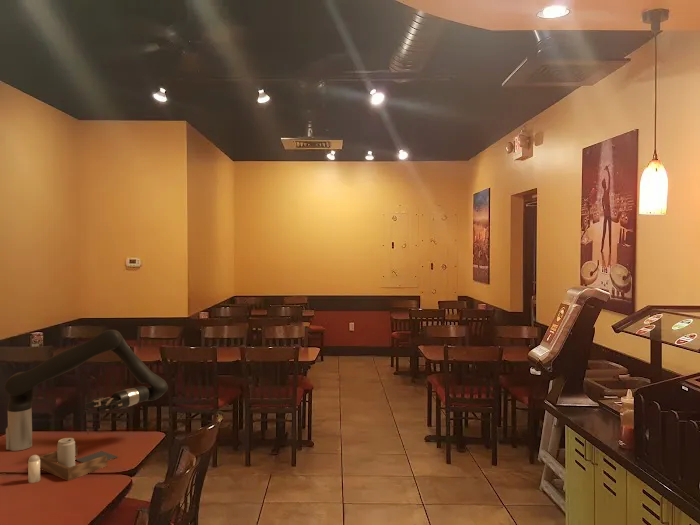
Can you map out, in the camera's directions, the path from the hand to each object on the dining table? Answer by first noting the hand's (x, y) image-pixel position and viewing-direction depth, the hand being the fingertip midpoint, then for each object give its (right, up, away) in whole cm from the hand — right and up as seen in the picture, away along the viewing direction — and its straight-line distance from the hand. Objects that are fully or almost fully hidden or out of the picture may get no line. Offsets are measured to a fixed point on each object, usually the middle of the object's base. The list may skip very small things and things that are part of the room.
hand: (90, 408), depth 231 cm
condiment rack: (-5, -23, -6) cm, 24 cm away
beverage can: (-6, -23, -8) cm, 25 cm away
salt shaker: (-13, -23, -19) cm, 32 cm away
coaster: (+1, -22, +3) cm, 23 cm away
